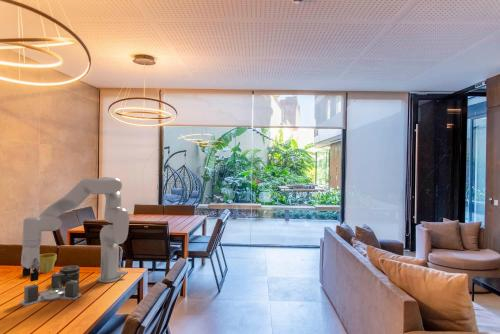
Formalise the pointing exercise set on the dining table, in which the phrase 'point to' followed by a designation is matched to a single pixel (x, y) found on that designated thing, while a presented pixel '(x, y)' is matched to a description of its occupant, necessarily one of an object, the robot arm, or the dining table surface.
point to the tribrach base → (51, 296)
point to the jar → (70, 273)
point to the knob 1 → (31, 293)
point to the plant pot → (47, 262)
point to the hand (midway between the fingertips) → (30, 278)
